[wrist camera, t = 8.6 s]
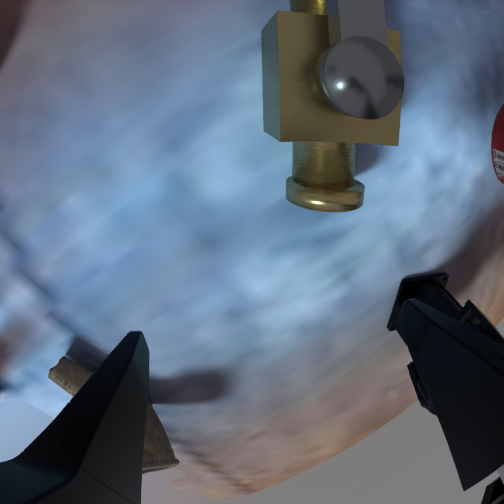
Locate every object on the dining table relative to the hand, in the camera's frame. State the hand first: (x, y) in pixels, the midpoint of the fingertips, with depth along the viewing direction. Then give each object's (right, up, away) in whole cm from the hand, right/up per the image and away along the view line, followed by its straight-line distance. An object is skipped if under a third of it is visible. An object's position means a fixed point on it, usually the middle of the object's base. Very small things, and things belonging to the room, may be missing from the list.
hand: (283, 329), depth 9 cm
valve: (+3, +14, +8) cm, 16 cm away
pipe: (-16, -13, +20) cm, 29 cm away
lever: (+4, +15, +1) cm, 15 cm away
